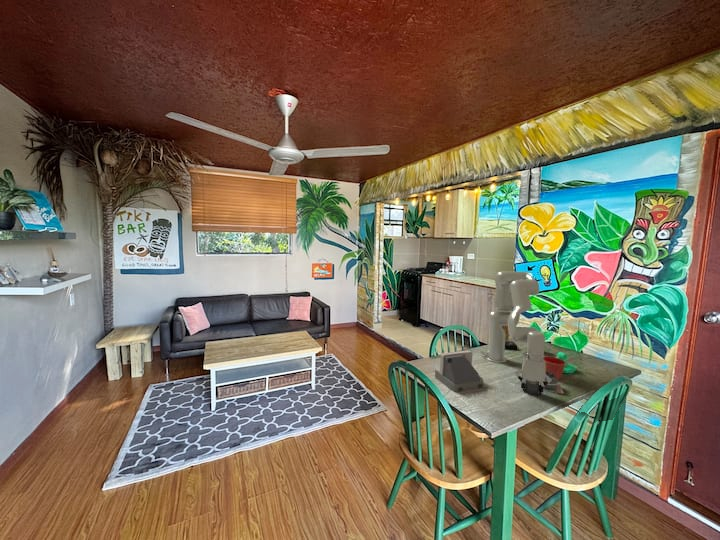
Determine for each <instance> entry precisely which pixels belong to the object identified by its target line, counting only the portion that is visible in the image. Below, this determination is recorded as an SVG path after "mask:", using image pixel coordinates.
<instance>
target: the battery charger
mask: <svg viewBox="0 0 720 540" xmlns="http://www.w3.org/2000/svg"><path fill="white" fill-rule="evenodd" d="M507 349H509V350H510V351H518V344H516V342H515V341H513V340H511V341H509V340H505V350H507Z"/></svg>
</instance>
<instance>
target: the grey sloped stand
mask: <svg viewBox="0 0 720 540" xmlns="http://www.w3.org/2000/svg"><path fill="white" fill-rule="evenodd" d="M439 356H440V361H439V367H438V366H437V367H435V368H434V378H435V379H436V380H438V381H439V382H440V383H442V384H443V385H444V386H446V388H448V389H450V391H453V392H456V393H457V392H463V391H468V390H474V389H480V388H483V387H484V379H483V377H481V376H480V374H479V372H478V371H477V370H476V369H475V368H474V366H473V365H472V364H473V352H472V351H470V350H459V351H458V350H457V351H452V352H444V353H441V354H440V355H439Z"/></svg>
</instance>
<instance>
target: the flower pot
mask: <svg viewBox="0 0 720 540" xmlns="http://www.w3.org/2000/svg"><path fill="white" fill-rule="evenodd" d="M543 360H544V361H545V365H546V371H549V372H552V373H554V376H555V377H557V378H558V381H559V380H561V379H562V376H563V370H564V367H565V361H563V360H561V359H558V358H556V357H554V356H544V357H543Z"/></svg>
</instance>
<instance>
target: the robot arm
mask: <svg viewBox="0 0 720 540" xmlns="http://www.w3.org/2000/svg"><path fill="white" fill-rule="evenodd" d="M494 282H495V290H494V291H495V292H494V297H493V308H494V309H496V310H491V311H490V312H489V313H488V316H487V317H488V329H489V330H488V345H487V350H481V349H480V350H479V351H480V353H479V354H481V355H482V356H483V355H484V358H485V359H486V360H487V361H489V362H491V361H492V363H497V364H504V363H506V362H507V358H506V357H505V350H506V349H505V341H506V331H505V329H504V328H503V327H507V330H508V334H509V337H510V339H511V341H512V342H520V343H521V342H522V343H523V342H525V343H526V345H525V351H524V352H522V356H524V357H523V360H522V365H521V368H520V369H519V370H517V371H515V372H514V374H515V376H516V377H517V378H518V380H519V381H520V382H521V384H520V385H521V386H520V388H521V390H522V391H523V392H525V381H526V380H527V379H528V380H533V381H539V382H540V384H539V395H542V393H544V390H543V387H544V386H545V385H547V384H548V383H549V382H551V381H552V380H551V378H550V377H549V376H548V375H547V374H546V365H545V361H544V360H543V357H545V353H544V352H545V351H544V350H545V345H544V344H546V342H545V341H546V335H545V334H544V333H543V332H541V331H539V329H538V328H536V327H532V326H531V327H530V326H518V324H519V323H520V316H521V313H525V312H527V311H530V310H531V309H532V302H531V298H530V296H537V295H538V294H539V293H540V289H541V288H540V285H539V282H538V281H537V279H535V278H534V276H532V275H531V274H530V273H529V272H526V271H513V270H509V271H508V270H502V271H501V270H500V271H498V272H496V274H495V277H494ZM520 374H521V375H520ZM546 378H547V380H545V379H546Z"/></svg>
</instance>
